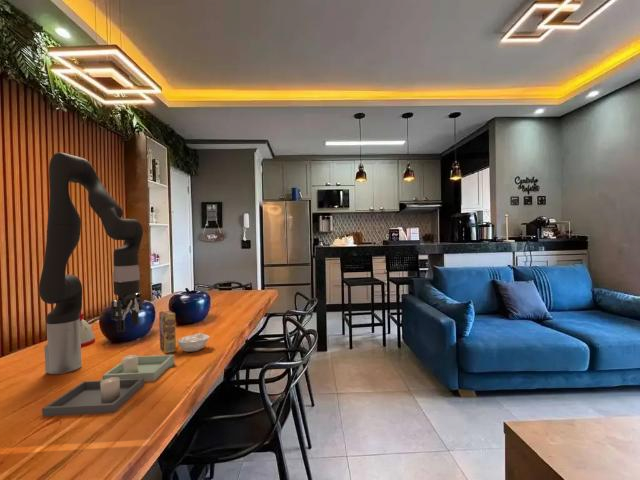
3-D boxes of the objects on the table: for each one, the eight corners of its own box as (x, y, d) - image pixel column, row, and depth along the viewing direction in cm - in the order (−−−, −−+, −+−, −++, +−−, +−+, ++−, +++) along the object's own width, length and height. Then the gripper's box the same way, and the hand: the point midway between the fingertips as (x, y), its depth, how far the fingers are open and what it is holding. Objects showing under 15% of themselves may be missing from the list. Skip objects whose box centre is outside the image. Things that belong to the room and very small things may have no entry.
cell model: (178, 348, 134) (177, 332, 134) (209, 344, 138) (208, 328, 138) (177, 357, 125) (176, 339, 124) (210, 352, 129) (209, 335, 129)
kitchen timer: (75, 350, 136) (73, 314, 136) (46, 349, 138) (45, 314, 138) (102, 339, 149) (101, 307, 149) (76, 339, 152) (75, 307, 151)
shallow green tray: (102, 386, 101) (102, 375, 101) (129, 366, 116) (129, 356, 116) (154, 384, 102) (154, 372, 101) (174, 364, 117) (174, 354, 117)
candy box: (177, 351, 131) (175, 313, 131) (165, 354, 128) (163, 315, 128) (170, 345, 138) (169, 309, 137) (159, 348, 135) (158, 311, 135)
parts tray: (42, 420, 83) (42, 408, 83) (84, 391, 98) (83, 381, 98) (114, 416, 83) (113, 404, 83) (144, 387, 99) (143, 378, 99)
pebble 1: (97, 403, 89) (96, 384, 89) (107, 394, 93) (106, 377, 93) (114, 402, 89) (113, 383, 89) (123, 394, 93) (122, 376, 93)
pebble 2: (119, 375, 106) (119, 360, 106) (127, 369, 111) (126, 355, 111) (134, 374, 107) (133, 359, 107) (141, 369, 111) (140, 354, 111)
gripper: (126, 276, 115) (128, 322, 115) (101, 282, 101) (103, 334, 101) (148, 276, 115) (149, 321, 116) (126, 281, 101) (128, 334, 101)
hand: (128, 327), depth 108 cm, fingers open, 8 cm apart
